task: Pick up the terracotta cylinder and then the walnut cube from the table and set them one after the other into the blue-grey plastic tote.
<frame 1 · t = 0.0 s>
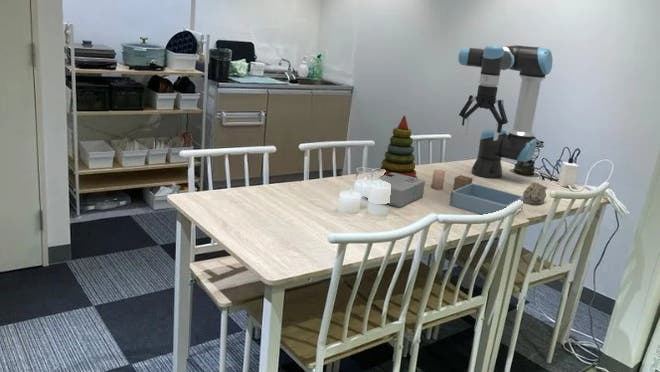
hand: (479, 137, 225), 28 cm above the table, fingers open, 13 cm apart
toy: (396, 178, 259), on the table
projector: (394, 198, 230), on the table
rock: (535, 202, 239), on the table
tote: (485, 207, 226), on the table
cube: (461, 190, 248), on the table
cylinder: (437, 188, 248), on the table
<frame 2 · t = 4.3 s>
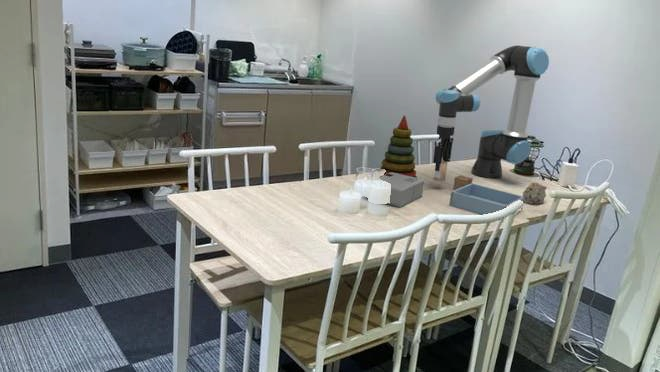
hand: (440, 176, 247), 6 cm above the table, fingers closed on cylinder, 5 cm apart
cylinder: (439, 179, 247), point 4 cm above the table, touching gripper
everything else where it was.
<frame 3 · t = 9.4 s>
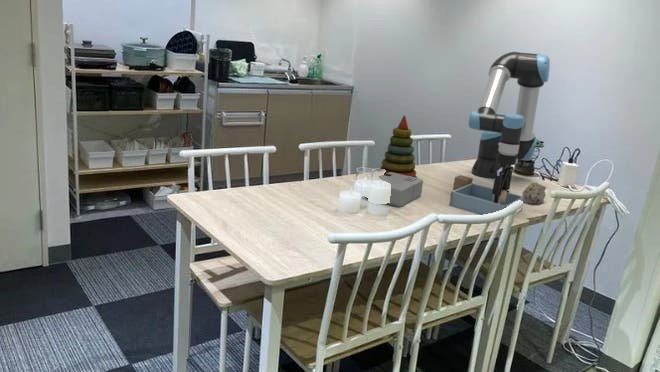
hand: (497, 208, 223), 1 cm above the table, fingers closed on cylinder, 5 cm apart
cylinder: (497, 208, 223), point 1 cm above the table, touching gripper, tote
everything else where it was.
when the fingers open (1 cm above the table, at t = 9.6 s): cylinder stays where it is, resting on tote.
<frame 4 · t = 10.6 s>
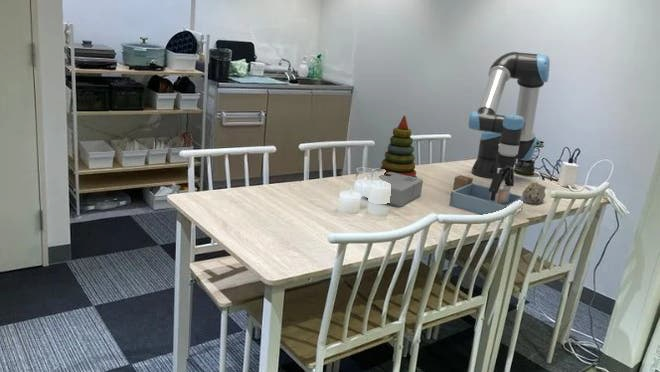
hand: (498, 204, 223), 3 cm above the table, fingers open, 13 cm apart
cylinder: (497, 209, 223), point 1 cm above the table, touching tote
everything else where it was.
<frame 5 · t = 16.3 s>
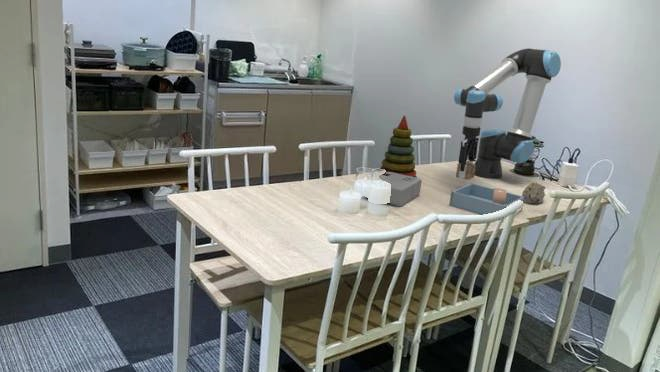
hand: (465, 176, 247), 7 cm above the table, fingers closed on cube, 6 cm apart
cube: (464, 177, 247), point 6 cm above the table, touching gripper
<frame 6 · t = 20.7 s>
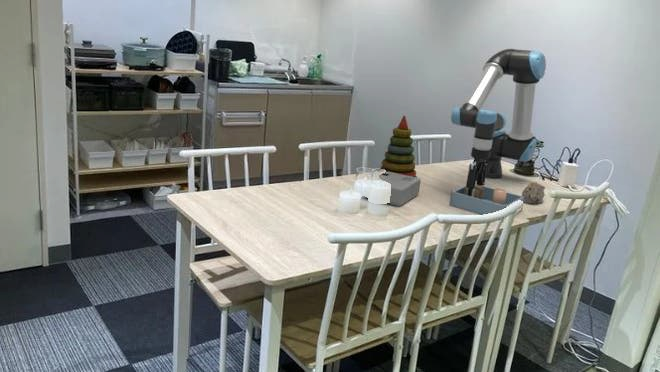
hand: (472, 201, 229), 1 cm above the table, fingers closed on cube, 6 cm apart
cube: (472, 201, 229), point 1 cm above the table, touching gripper, tote
when the fingers open (1 cm above the table, at t = 21.0 s): cube stays where it is, resting on tote.
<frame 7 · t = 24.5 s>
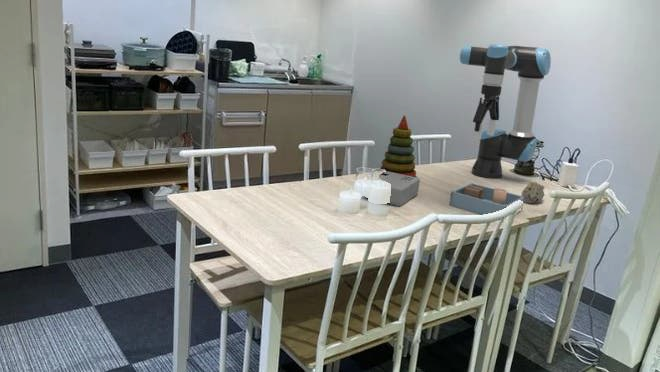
hand: (483, 137, 221), 29 cm above the table, fingers open, 13 cm apart
cube: (472, 201, 229), point 1 cm above the table, touching tote
at the end: cube inside the target area on the tote (6.1 cm from its centre), point 0.8 cm above the tote's base; cylinder inside the target area on the tote (5.0 cm from its centre), point 0.8 cm above the tote's base; the gripper is holding nothing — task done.
